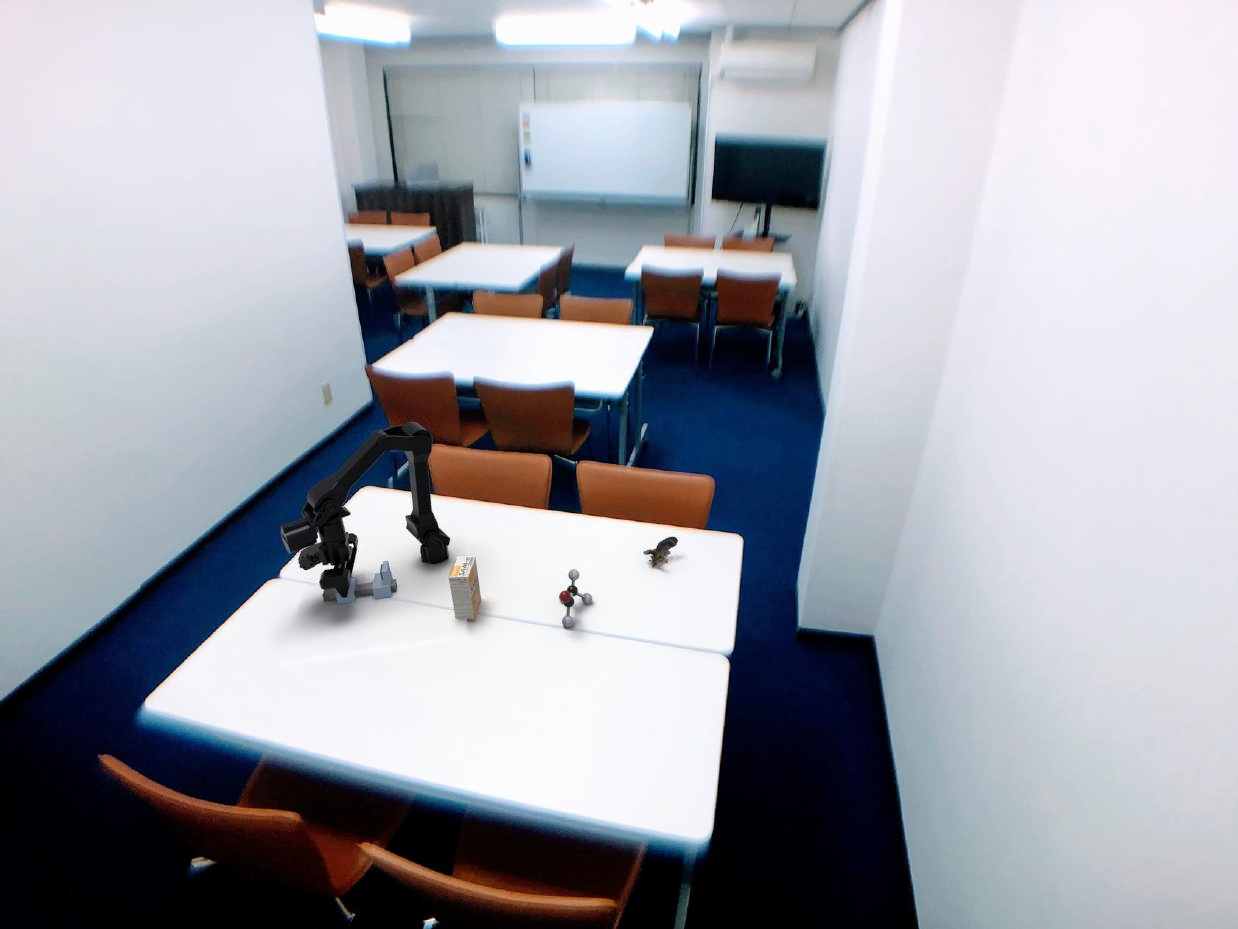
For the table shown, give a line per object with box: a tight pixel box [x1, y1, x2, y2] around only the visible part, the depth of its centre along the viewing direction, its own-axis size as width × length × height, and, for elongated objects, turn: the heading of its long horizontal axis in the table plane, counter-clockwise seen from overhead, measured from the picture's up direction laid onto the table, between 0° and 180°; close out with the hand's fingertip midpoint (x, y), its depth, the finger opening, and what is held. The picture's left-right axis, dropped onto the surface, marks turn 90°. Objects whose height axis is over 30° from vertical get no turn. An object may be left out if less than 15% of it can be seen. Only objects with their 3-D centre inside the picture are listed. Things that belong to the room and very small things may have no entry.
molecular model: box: [558, 569, 593, 628], centre depth 162 cm, size 8×12×11 cm
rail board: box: [322, 578, 398, 603], centre depth 171 cm, size 18×9×3 cm, turn 102°
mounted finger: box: [372, 560, 394, 600], centre depth 170 cm, size 4×6×7 cm, turn 12°
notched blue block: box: [335, 576, 359, 605], centre depth 168 cm, size 4×6×7 cm, turn 12°
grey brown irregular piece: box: [642, 536, 679, 568], centre depth 181 cm, size 8×7×9 cm
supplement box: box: [448, 555, 482, 622], centre depth 163 cm, size 8×5×13 cm, turn 179°
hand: (346, 588), depth 169 cm, fingers open, 7 cm apart
